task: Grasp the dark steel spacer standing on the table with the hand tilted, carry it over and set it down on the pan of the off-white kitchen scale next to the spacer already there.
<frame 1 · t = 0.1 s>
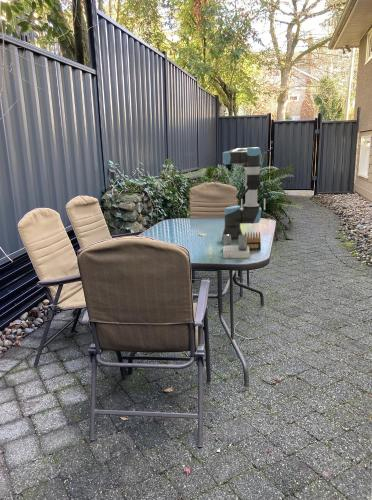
hand: (253, 209, 233), 28 cm above the table, tool pointing down, fingers open, 13 cm apart
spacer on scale: (242, 249, 236), point 4 cm above the table, touching scale
ammunition clip: (252, 250, 252), on the table
scale: (236, 254, 242), on the table
spacer: (227, 248, 258), on the table
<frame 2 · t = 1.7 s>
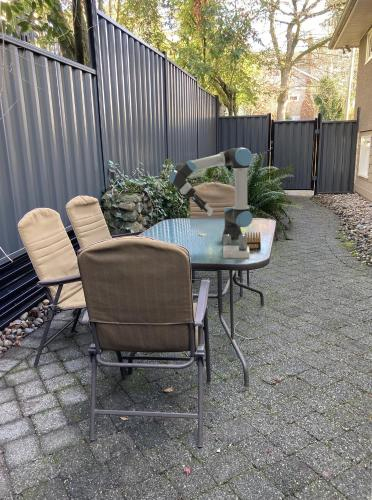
hand: (211, 213, 253), 24 cm above the table, tool tilted 45°, fingers open, 13 cm apart
nothing on the table moved.
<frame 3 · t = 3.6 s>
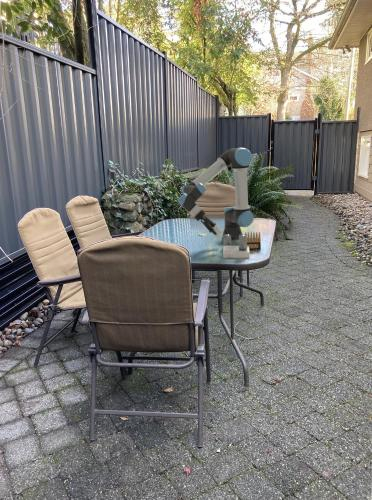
hand: (220, 235, 256), 9 cm above the table, tool tilted 45°, fingers open, 13 cm apart
nothing on the table moved.
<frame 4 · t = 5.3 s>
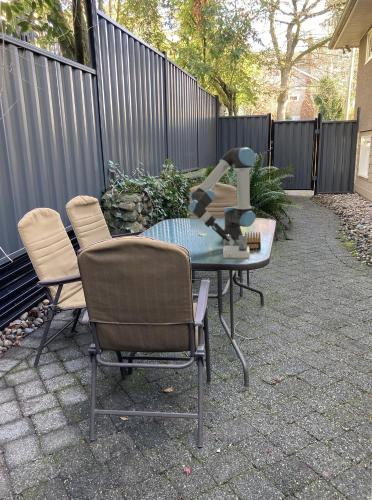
hand: (232, 243, 257), 3 cm above the table, tool tilted 45°, fingers closed on spacer, 5 cm apart
spacer: (227, 248, 258), on the table, touching gripper
everything else where it was.
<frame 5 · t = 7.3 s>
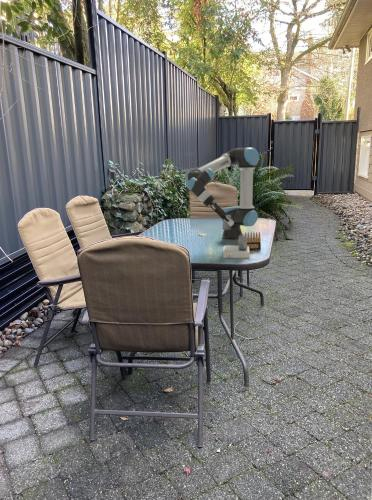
hand: (232, 224, 244), 18 cm above the table, tool tilted 45°, fingers closed on spacer, 5 cm apart
spacer: (226, 229, 246), point 15 cm above the table, touching gripper
everything else where it was.
when the fingers open (9 cm above the table, at t = 9.5 s): spacer drops 1 cm, resting on scale.
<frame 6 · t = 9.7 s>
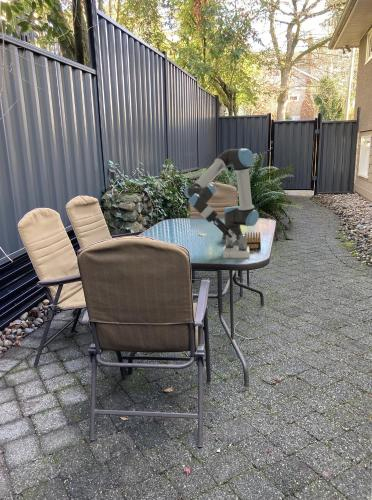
hand: (235, 239, 243), 9 cm above the table, tool tilted 45°, fingers open, 8 cm apart
spacer: (229, 246, 244), point 4 cm above the table, touching scale
everything else where it was.
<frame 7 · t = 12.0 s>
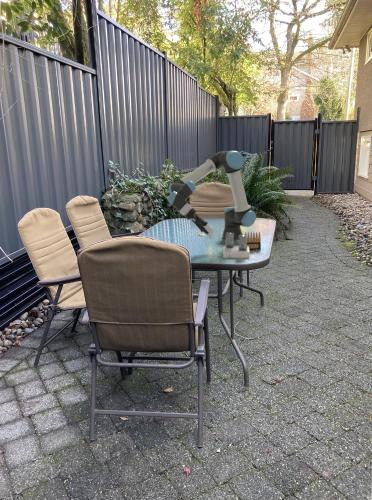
hand: (212, 234, 245), 12 cm above the table, tool tilted 45°, fingers open, 13 cm apart
nothing on the table moved.
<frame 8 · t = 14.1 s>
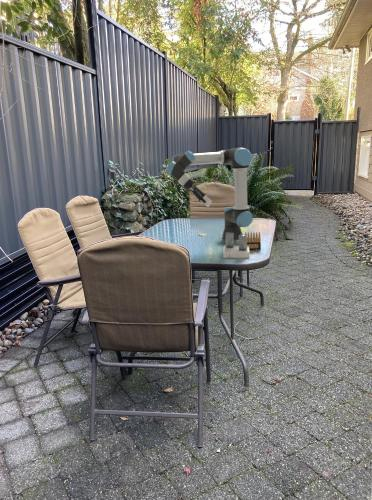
hand: (210, 204, 250), 30 cm above the table, tool tilted 45°, fingers open, 13 cm apart
nothing on the table moved.
at the end: spacer inside the target area on the scale (5.1 cm from its centre), point 4.0 cm above the scale's base; spacer tilted 0°; the gripper is holding nothing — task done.
